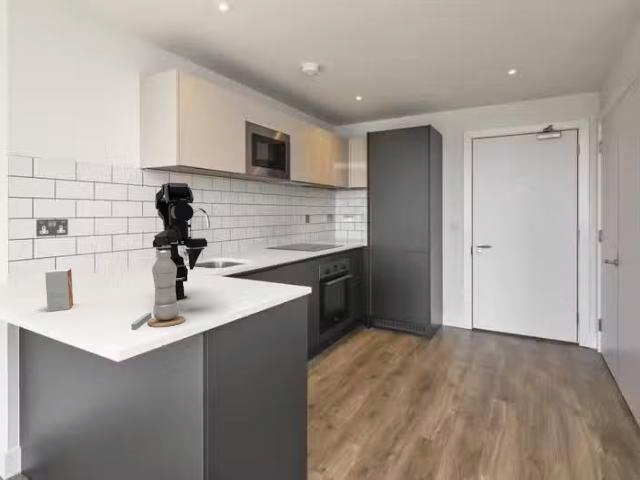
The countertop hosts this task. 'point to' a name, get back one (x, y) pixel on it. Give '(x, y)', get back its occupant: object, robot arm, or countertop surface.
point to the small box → (59, 289)
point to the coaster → (166, 322)
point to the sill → (141, 321)
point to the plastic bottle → (165, 286)
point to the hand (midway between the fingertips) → (180, 269)
